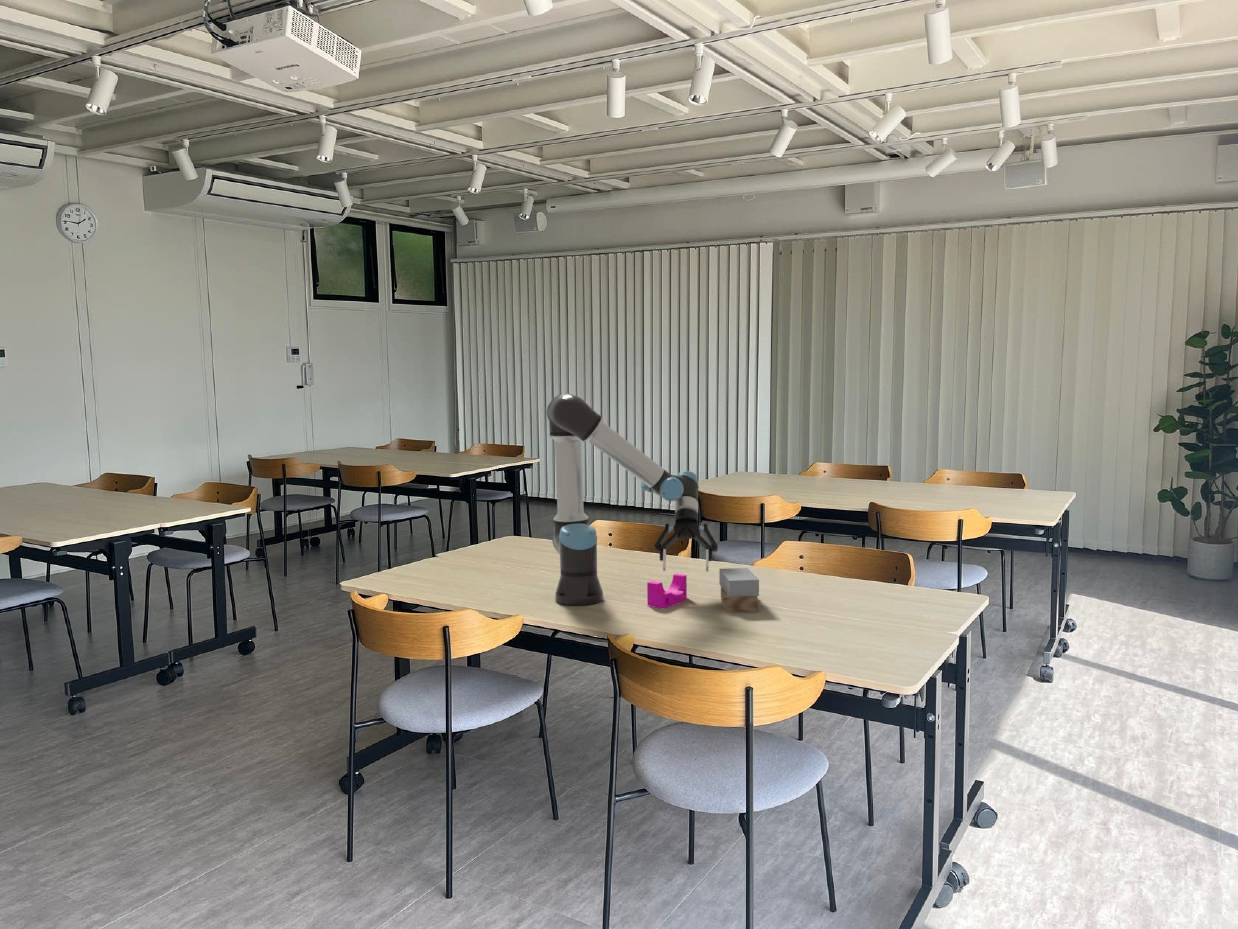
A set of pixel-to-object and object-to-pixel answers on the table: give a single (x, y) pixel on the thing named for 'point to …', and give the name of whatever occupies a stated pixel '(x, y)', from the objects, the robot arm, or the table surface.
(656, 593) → the toy block
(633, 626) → the table surface
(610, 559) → the table surface
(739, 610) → the tower base
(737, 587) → the tower top
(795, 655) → the table surface
